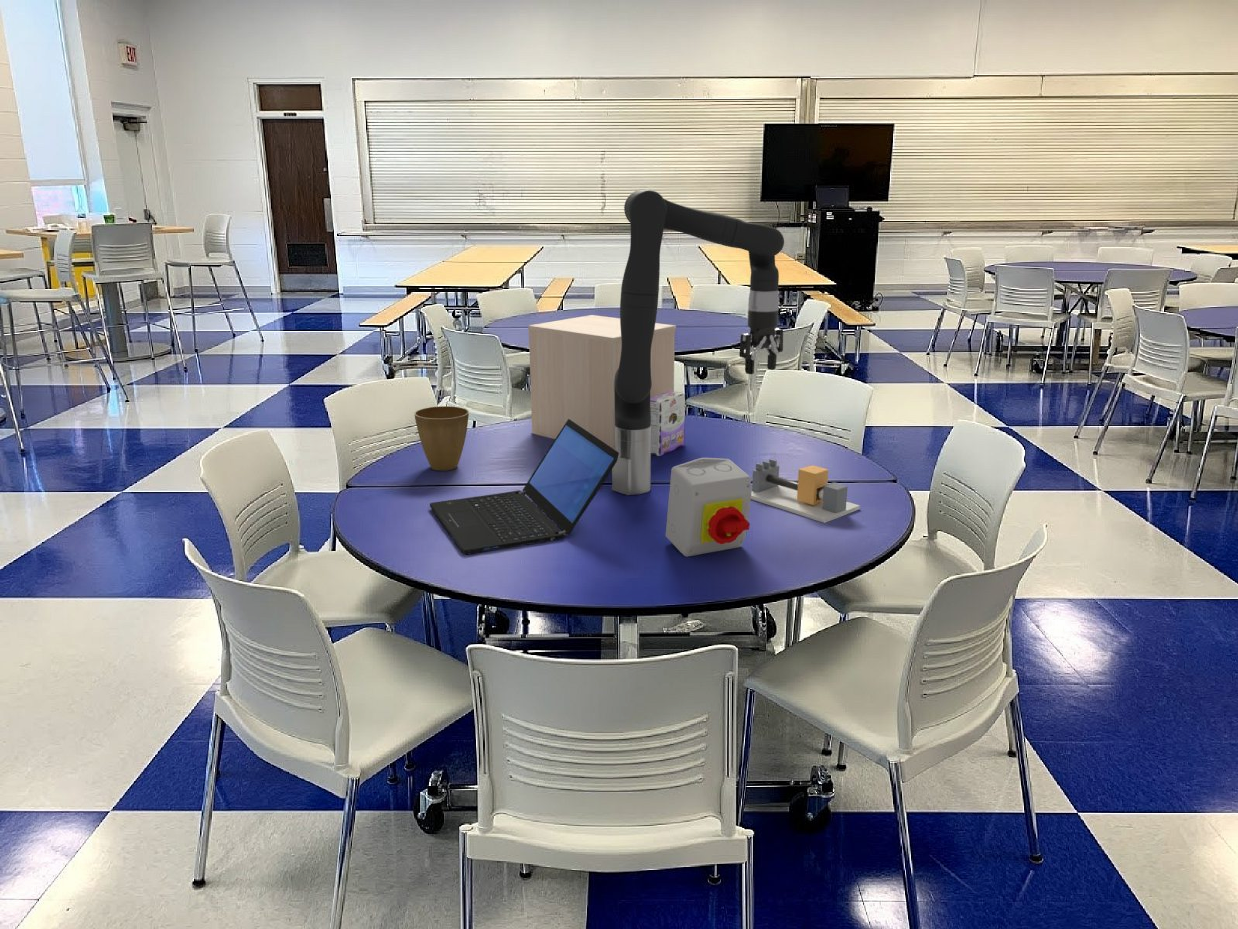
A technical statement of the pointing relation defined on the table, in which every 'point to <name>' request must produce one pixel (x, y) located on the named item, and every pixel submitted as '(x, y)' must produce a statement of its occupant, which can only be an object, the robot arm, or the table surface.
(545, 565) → the table surface
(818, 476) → the sleeve
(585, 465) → the laptop
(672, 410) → the candy box
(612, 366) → the cabinet
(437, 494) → the table surface
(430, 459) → the plant pot
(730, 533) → the electrical switch box
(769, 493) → the cord rig
